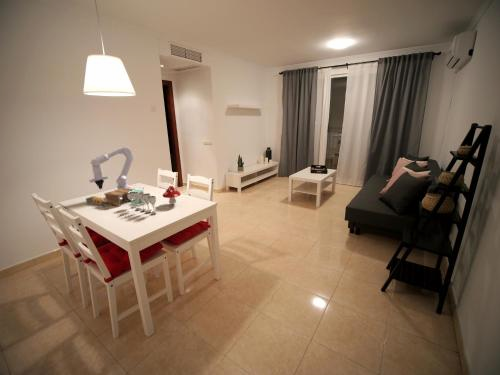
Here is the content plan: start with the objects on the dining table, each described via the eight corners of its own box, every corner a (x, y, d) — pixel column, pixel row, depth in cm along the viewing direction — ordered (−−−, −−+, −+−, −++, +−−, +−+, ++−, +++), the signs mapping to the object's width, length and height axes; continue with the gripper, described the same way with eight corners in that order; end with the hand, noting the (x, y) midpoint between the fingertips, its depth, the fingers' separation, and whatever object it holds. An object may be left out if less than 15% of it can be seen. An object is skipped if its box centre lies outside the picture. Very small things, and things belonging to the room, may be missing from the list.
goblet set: (159, 211, 168) (157, 194, 164) (153, 214, 163) (150, 196, 159) (134, 206, 180) (131, 190, 176) (127, 208, 175) (124, 192, 172)
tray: (94, 201, 193) (93, 195, 192) (109, 203, 187) (108, 197, 185) (86, 203, 188) (85, 197, 186) (101, 206, 181) (100, 199, 180)
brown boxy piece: (124, 198, 199) (122, 188, 196) (136, 200, 194) (134, 189, 191) (106, 204, 184) (104, 193, 181) (118, 206, 178) (116, 195, 176)
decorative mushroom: (184, 203, 182) (182, 186, 178) (167, 208, 174) (165, 189, 170) (177, 199, 193) (175, 182, 189) (161, 203, 185) (159, 185, 181)
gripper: (102, 171, 199) (105, 186, 202) (85, 174, 186) (89, 190, 189) (108, 171, 196) (110, 186, 200) (91, 175, 183) (94, 191, 187)
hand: (100, 188), depth 194 cm, fingers closed
